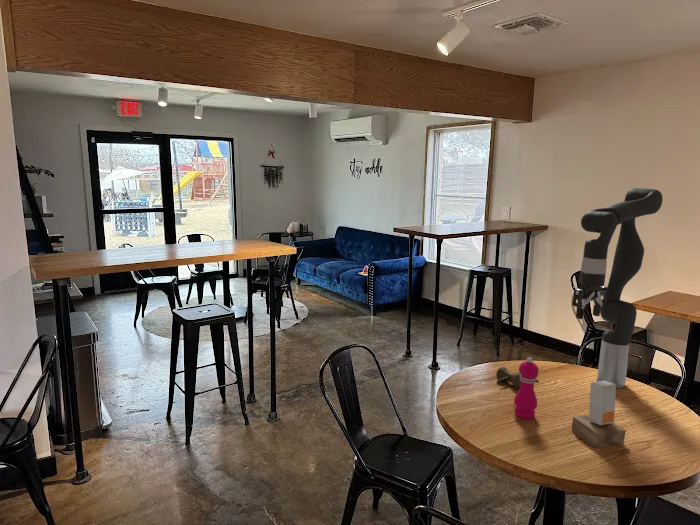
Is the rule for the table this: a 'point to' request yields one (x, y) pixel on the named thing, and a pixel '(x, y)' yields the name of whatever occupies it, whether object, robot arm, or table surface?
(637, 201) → the robot arm
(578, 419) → the walnut block
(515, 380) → the kendama
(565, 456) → the table surface
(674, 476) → the table surface
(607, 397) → the skincare box
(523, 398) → the pepper mill
